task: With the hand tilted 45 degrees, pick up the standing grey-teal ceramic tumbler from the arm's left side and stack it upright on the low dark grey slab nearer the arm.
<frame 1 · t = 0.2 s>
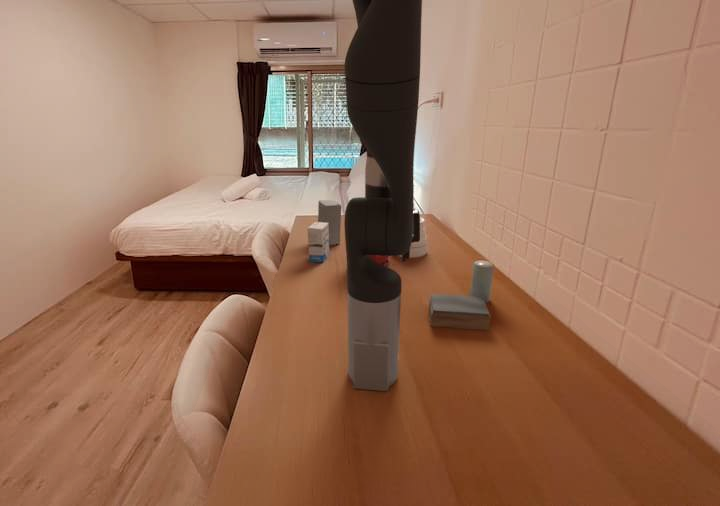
hand: (383, 259, 76), 18 cm above the table, tool pointing down, fingers open, 8 cm apart
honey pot: (408, 251, 133), on the table
plant pot: (370, 268, 119), on the table
dark grey slab: (457, 318, 89), on the table
ink box: (319, 258, 126), on the table
skincare box: (329, 243, 142), on the table
ceramic tumbler: (479, 299, 98), on the table
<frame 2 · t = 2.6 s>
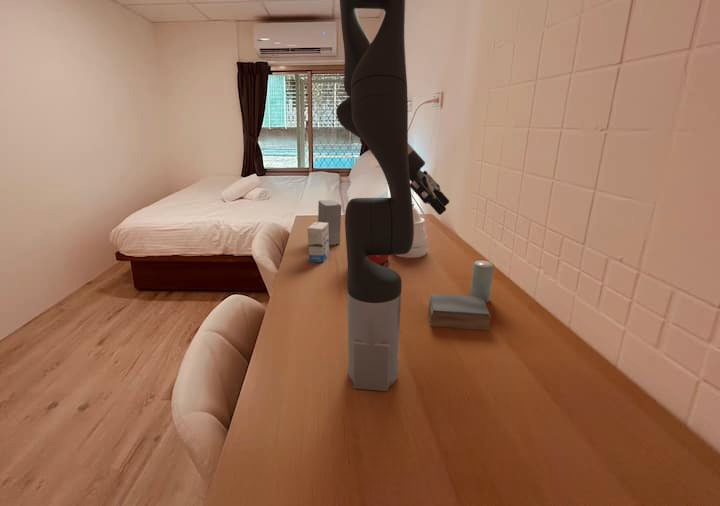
hand: (445, 208, 93), 24 cm above the table, tool tilted 45°, fingers open, 8 cm apart
nothing on the table moved.
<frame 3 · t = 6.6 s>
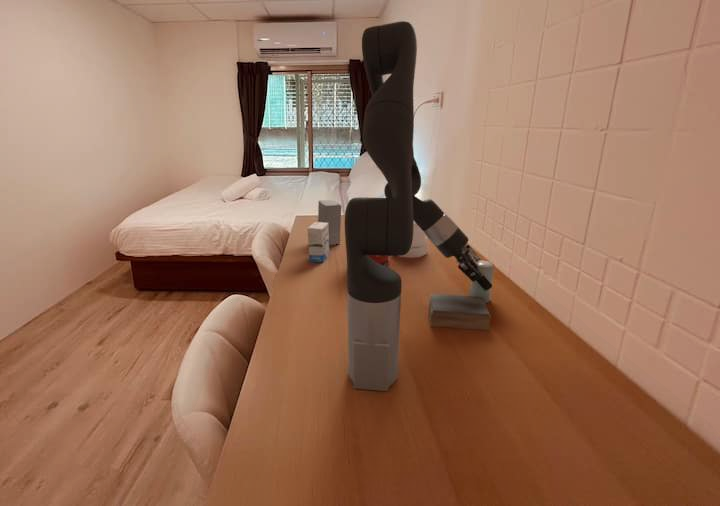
hand: (488, 283, 96), 5 cm above the table, tool tilted 45°, fingers closed on ceramic tumbler, 5 cm apart
ceramic tumbler: (479, 298, 98), on the table, touching gripper
everything else where it was.
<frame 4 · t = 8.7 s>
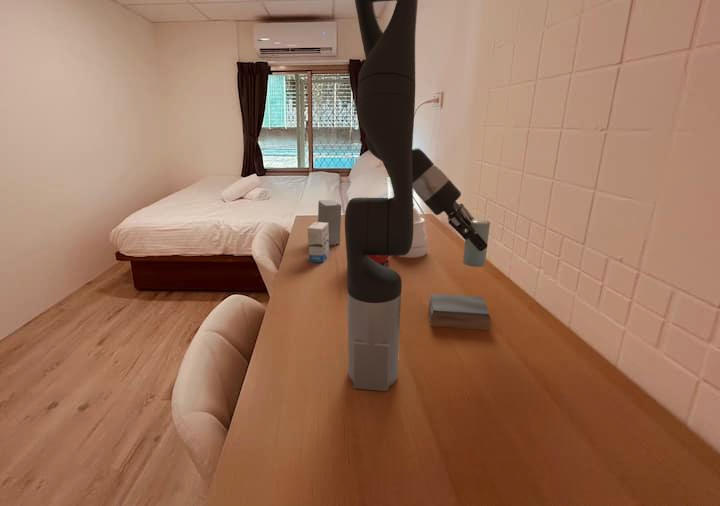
hand: (484, 244, 85), 18 cm above the table, tool tilted 45°, fingers closed on ceramic tumbler, 5 cm apart
ceramic tumbler: (473, 262, 87), point 13 cm above the table, touching gripper
everything else where it was.
when the fingers open (10 cm above the table, at t = 11.0 s): ceramic tumbler drops 1 cm, resting on dark grey slab.
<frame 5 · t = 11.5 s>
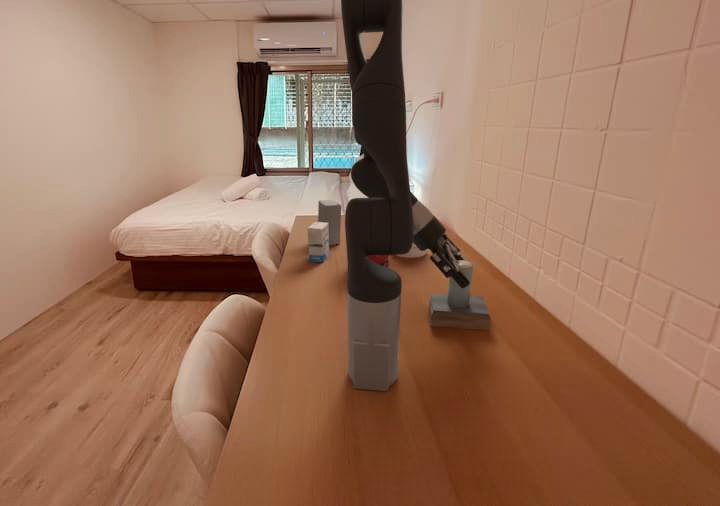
hand: (467, 278, 85), 11 cm above the table, tool tilted 45°, fingers open, 8 cm apart
ceramic tumbler: (458, 303, 87), point 4 cm above the table, touching dark grey slab
everything else where it was.
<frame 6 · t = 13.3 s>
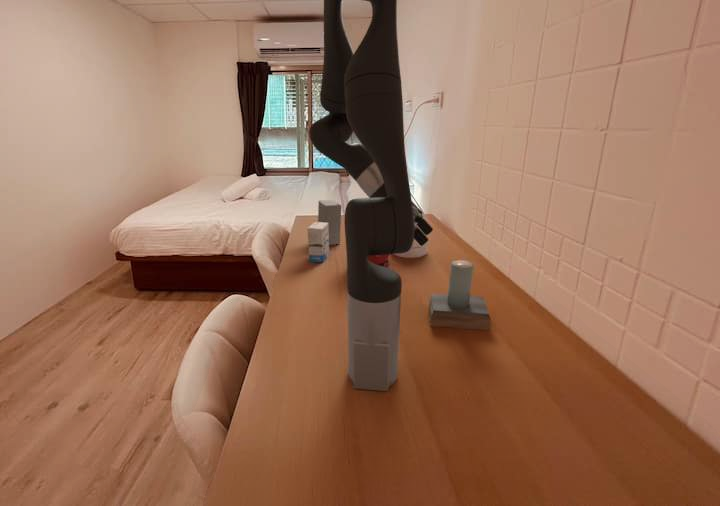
hand: (427, 237, 85), 19 cm above the table, tool tilted 45°, fingers open, 8 cm apart
nothing on the table moved.
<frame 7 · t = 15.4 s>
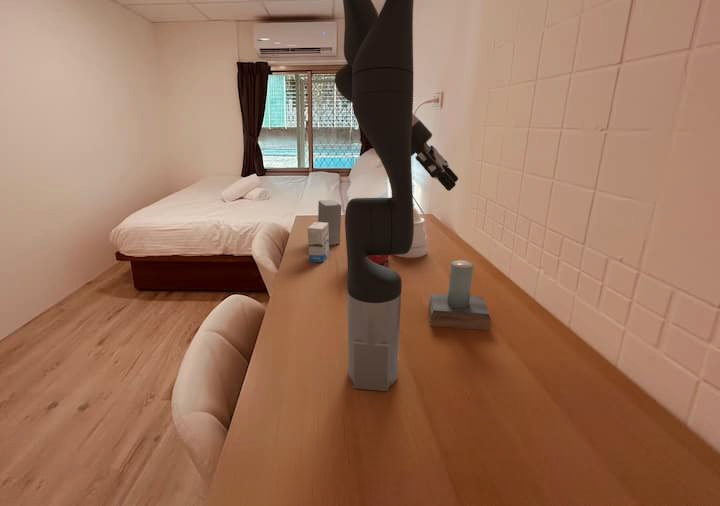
hand: (454, 184, 85), 31 cm above the table, tool tilted 45°, fingers open, 8 cm apart
nothing on the table moved.
at the end: ceramic tumbler inside the target area on the dark grey slab (0.2 cm from its centre), point 4.0 cm above the dark grey slab's base; ceramic tumbler tilted 0°; the gripper is holding nothing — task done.
